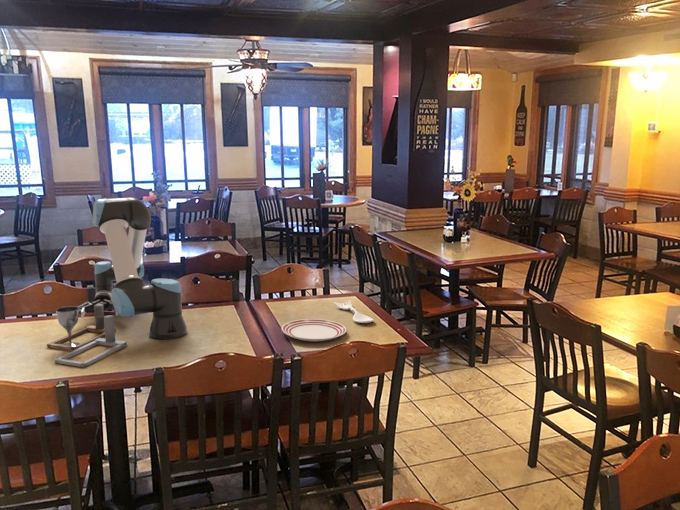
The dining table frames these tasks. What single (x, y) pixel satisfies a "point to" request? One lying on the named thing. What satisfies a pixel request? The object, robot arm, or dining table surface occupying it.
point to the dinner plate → (313, 329)
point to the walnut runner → (97, 328)
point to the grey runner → (108, 341)
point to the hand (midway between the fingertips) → (99, 313)
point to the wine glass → (68, 320)
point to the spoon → (357, 316)
